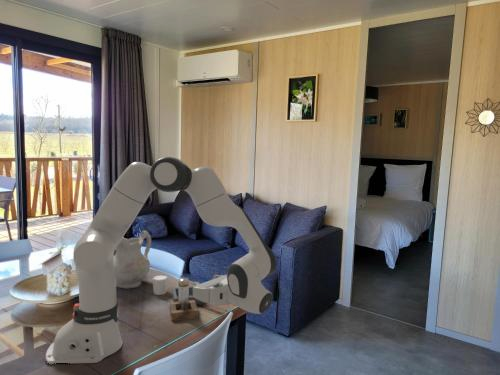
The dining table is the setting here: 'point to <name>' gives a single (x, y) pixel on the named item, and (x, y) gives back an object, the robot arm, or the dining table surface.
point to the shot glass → (160, 284)
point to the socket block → (183, 311)
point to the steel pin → (183, 293)
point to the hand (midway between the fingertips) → (204, 280)
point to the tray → (198, 302)
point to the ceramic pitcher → (131, 261)
